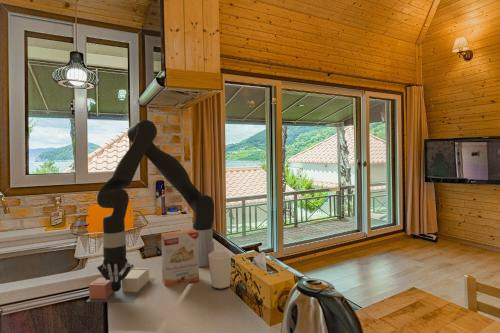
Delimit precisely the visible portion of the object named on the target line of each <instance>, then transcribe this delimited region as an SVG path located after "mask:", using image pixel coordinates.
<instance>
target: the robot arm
mask: <svg viewBox="0 0 500 333" xmlns="http://www.w3.org/2000/svg"><path fill="white" fill-rule="evenodd" d="M126 134H127V137H128V139H129V141H130V142H131V145H130V147H129V148H128V150H127V151H125V153H124V155H123V156H122V158H120V159H119V162H118V163H117V165H116V167H115V170H114V171H113V174H112V176H111V177H110V178H109V179H108V180H107V181H106V183H104V185H103V186H102V187H101V188H100V189H99V191H98V193H97V197H96V202H97V204H98V206H99V207H100V208H103V209H113V210H112V214H111V213H110V214H107V215H105V216H104V217H103V220H102V227H103V228H102V229H103V230H102V231H103V233H102V234H103V235H102V236H103V237H102V249H103V250H102V253H103V262H102V263H101V264H100V265H98V266H97V267H96V269H97V271H99V273H100V274H101V276H103V278H105V279H106V280H110V281H111V288H112V290H113V292H118V291H119V290H120V288H121V280H123V279H124V278H125V277H126V276H127V275H128V273H129V272H130V271H131V270H133V269H134V264H132V263H131V264H130V263H129V262H128V259H127V235H126V228H125V227H126V226H125V219H126V214H127V211H128V206H129V203H130V197H129V193H128V192H127V190H126V189H125V188H127V187H129V186H130V185H131V183H132V182H133V180H134V177H135V174H136V172H137V170H138V168H139V166H140V163H141V162H142V160H143V158H144V156H145V157H146V158H147V159H148V160H149V161H150V162H151V163H152V164H153V166H154V167H155V168H156V169H157V170H158V171H159V172H160V174H161V175H162V176H163V177H164V178H165V179H166V181H167V182H168V183H169V184H171V186H172V187H173V188H174V189H175V190H176V191H177V192H178V193H179V194H180V195H181V197H183V199H184V200H185V202H186V203H187V205H188V206H189V208H190V209H191V210H192V211H193V212H194V213H195V221H193V222H192V229H195V230H196V231H197V232H199V268H205V267H210V266H209V258H208V254H209V253H211V252H214V251H215V243H214V241H213V240H214V239H213V225H214V220H215V203H214V199H213V198H212V197H211V196H210V195H207V194H204V193H201V191H199V190H198V188H197V187H196V186H195V185H194V184H193V182H192V181H191V179H190V175H189V173H188V172H187V170H186V169H185V167H184V165H182V163H180V161H179V160H178V159H177V158H176V157H175V156H173V155H171V154H169V153H167V152H165V151H164V150H161V149H160V148H159V147H158V146H156V144H155V143H154V140H155V139H156V138H157V134H158V129H157V126H156V125H155V123H154V122H153V121H151V120H150V119H142V120H140V121H137V122H136V123H135V124H133V125H131V126H130V127H129V128H128V129H127V132H126ZM123 270H124V271H123Z"/></svg>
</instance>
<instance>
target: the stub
mask: <svg viewBox="0 0 500 333" xmlns="http://www.w3.org/2000/svg"><path fill="white" fill-rule="evenodd" d="M88 292H89V294H88V295H89V296H88V297H89V298H91V299H106V298H107V297H108V296H110V295H111V294H112V293H113V290H112V288H111V281H110V280H106V279H105V278H104V277H98V278H96V279H95V280H93V281H92V282H91V283H89V284H88Z"/></svg>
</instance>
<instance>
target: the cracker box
mask: <svg viewBox="0 0 500 333" xmlns="http://www.w3.org/2000/svg"><path fill="white" fill-rule="evenodd" d="M160 234H161V235H160V236H161V276H162V277H161V278H162V279H161V281H162V284H163V285H164V287H168V286H173V285H177V284H182V283H186V282H187V283H188V284H194V283H198V282H200V267H199V232H197V231H196V230H195V229H193V228H191V229H185V230H178V231H177V230H175V231H170V232H169V231H168V232H163V233H162V232H161V233H160Z"/></svg>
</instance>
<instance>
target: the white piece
mask: <svg viewBox="0 0 500 333" xmlns="http://www.w3.org/2000/svg"><path fill="white" fill-rule="evenodd" d="M156 279H157V278H156V277H150V268H149V267H133V268H132V269H131V271H130V272H129V273H128V275H127V276H126V277H125V278H124V279H123V280H121V288H120V290H119V291H118V292H113V293H112V294H111V295H110V296H108V297H107V298H106V299H91V298H90V297H89V298H88V299H87V300H86V302H90V303H91V302H95V303H96V302H97V303H100V302H101V303H128V304H129V303H132V304H133V303H134V302H135V301H136V299H138V298H139V297H140V296H141V295H142V293H143V292H145V290H146V289H147V288H148V287H149V286H150V285H151V284H152V283H153V282H154V281H155V280H156Z"/></svg>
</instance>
